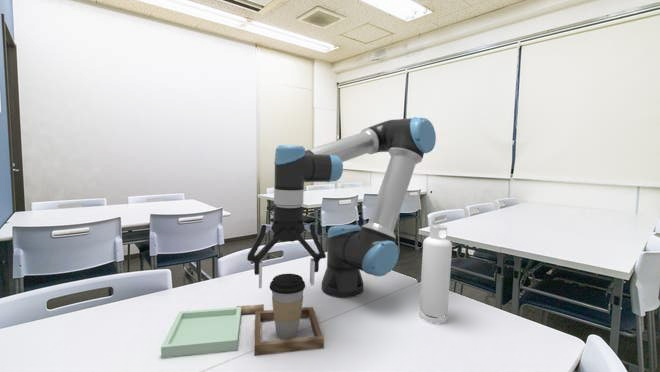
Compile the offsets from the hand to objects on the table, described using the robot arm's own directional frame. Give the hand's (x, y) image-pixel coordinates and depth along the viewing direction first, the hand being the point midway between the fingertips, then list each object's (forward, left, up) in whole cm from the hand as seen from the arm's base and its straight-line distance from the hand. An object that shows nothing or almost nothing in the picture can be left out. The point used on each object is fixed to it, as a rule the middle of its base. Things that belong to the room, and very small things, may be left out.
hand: (286, 285), depth 84 cm
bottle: (-44, -1, -14) cm, 46 cm away
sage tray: (+21, -3, -13) cm, 25 cm away
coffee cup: (0, 0, -14) cm, 14 cm away
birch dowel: (+10, -14, -12) cm, 21 cm away
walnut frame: (0, 0, -13) cm, 13 cm away
